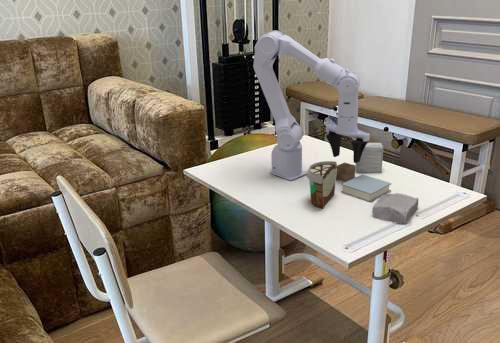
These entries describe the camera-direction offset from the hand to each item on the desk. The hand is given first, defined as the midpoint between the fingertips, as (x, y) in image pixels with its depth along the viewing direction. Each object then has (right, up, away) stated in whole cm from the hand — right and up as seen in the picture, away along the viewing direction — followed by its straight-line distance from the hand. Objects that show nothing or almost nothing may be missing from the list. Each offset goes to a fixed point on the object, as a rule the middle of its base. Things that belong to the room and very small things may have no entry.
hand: (346, 159), depth 150 cm
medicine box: (+9, -4, +8) cm, 13 cm away
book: (+4, -10, -7) cm, 12 cm away
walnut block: (0, -6, +3) cm, 7 cm away
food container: (-10, -12, -11) cm, 19 cm away
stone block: (+9, -15, -19) cm, 26 cm away
